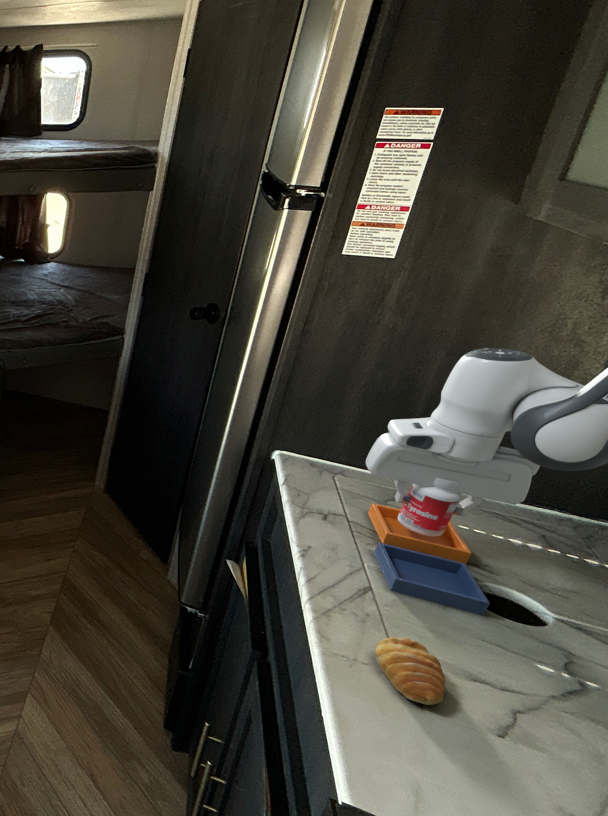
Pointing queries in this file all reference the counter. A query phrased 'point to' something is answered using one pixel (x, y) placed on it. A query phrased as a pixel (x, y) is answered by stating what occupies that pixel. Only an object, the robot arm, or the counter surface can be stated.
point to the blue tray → (430, 578)
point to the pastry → (411, 669)
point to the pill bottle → (430, 507)
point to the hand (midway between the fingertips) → (427, 507)
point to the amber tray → (417, 536)
